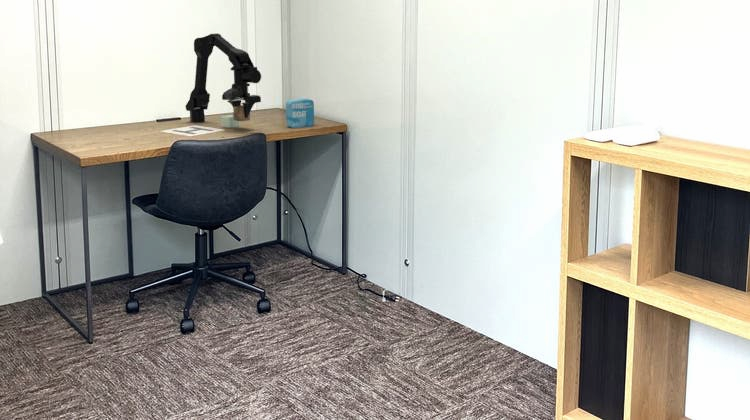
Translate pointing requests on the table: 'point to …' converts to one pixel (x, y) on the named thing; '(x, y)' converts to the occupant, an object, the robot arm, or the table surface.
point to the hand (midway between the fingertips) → (242, 117)
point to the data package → (300, 113)
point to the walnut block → (240, 113)
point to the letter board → (192, 130)
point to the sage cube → (229, 121)
